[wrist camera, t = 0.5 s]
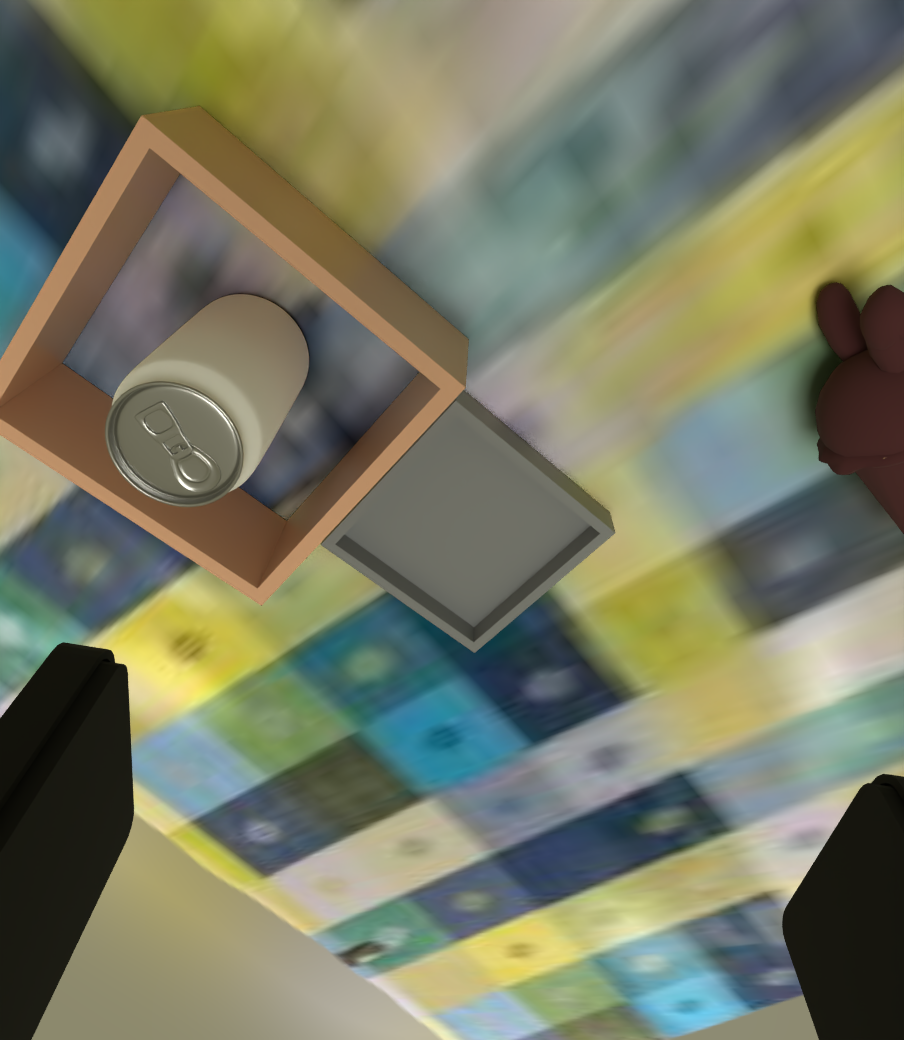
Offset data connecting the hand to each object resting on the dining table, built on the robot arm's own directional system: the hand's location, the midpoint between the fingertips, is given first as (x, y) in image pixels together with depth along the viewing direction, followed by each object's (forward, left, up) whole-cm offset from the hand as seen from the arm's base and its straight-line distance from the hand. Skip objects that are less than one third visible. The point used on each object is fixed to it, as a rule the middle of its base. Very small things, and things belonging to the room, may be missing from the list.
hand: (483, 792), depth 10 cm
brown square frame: (-6, -12, -33) cm, 36 cm away
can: (-6, -12, -34) cm, 36 cm away
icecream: (+20, +8, -34) cm, 40 cm away
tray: (+10, -12, -33) cm, 37 cm away
